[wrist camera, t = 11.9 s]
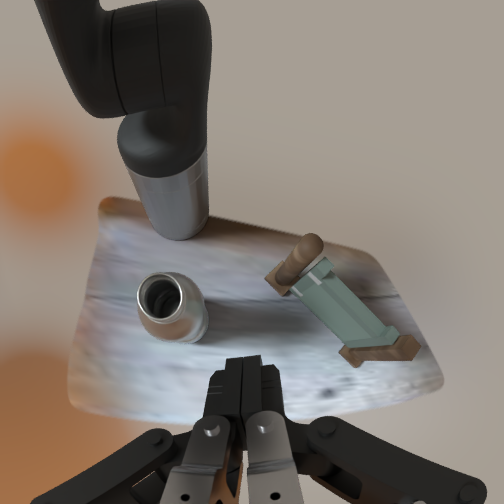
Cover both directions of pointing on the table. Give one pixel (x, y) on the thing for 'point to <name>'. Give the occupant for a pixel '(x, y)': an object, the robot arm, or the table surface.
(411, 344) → the post
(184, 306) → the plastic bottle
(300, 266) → the hinge post
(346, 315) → the gate
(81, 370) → the table surface
